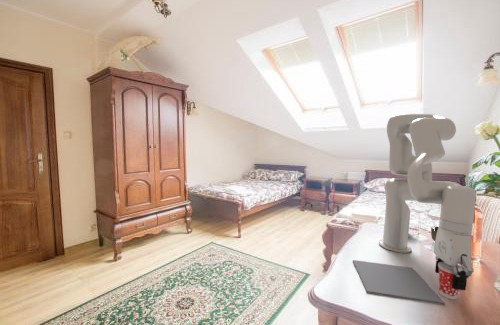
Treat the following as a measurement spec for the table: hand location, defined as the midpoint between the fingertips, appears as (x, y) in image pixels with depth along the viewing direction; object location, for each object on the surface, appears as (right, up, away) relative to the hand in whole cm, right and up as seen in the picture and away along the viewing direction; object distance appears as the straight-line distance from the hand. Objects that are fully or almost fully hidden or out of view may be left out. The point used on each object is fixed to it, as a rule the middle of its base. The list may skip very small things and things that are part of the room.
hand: (449, 280), depth 73 cm
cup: (+27, -3, +37) cm, 46 cm away
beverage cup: (0, -5, 0) cm, 5 cm away
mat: (-13, -4, +7) cm, 16 cm away
